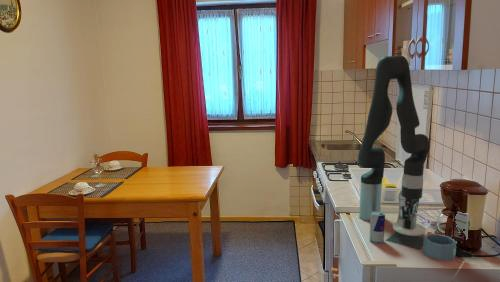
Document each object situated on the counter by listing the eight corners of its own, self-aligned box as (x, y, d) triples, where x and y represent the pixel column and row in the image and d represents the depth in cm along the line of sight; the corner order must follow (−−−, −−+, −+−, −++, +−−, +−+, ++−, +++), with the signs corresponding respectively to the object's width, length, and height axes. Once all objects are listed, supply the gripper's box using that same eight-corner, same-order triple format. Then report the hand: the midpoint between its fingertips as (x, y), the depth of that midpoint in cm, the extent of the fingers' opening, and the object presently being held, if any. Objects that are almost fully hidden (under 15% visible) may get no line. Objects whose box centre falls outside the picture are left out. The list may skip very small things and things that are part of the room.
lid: (398, 221, 161) (399, 207, 159) (429, 228, 153) (430, 214, 152) (388, 230, 151) (389, 216, 150) (420, 238, 144) (421, 223, 143)
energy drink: (384, 245, 147) (386, 216, 146) (370, 244, 149) (371, 215, 147) (382, 240, 153) (384, 211, 151) (368, 239, 154) (370, 210, 152)
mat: (397, 231, 161) (397, 230, 161) (430, 239, 153) (430, 238, 153) (385, 241, 152) (385, 240, 152) (419, 250, 143) (419, 249, 143)
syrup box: (465, 251, 143) (469, 213, 141) (451, 245, 148) (454, 209, 146) (475, 247, 145) (478, 211, 143) (460, 242, 151) (463, 206, 148)
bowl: (428, 246, 146) (429, 232, 146) (457, 254, 140) (458, 239, 139) (420, 255, 139) (421, 240, 138) (450, 264, 132) (451, 248, 132)
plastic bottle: (413, 233, 160) (416, 186, 157) (396, 231, 162) (399, 185, 159) (412, 227, 166) (415, 182, 163) (395, 225, 168) (398, 181, 165)
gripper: (408, 179, 157) (405, 219, 160) (396, 187, 146) (393, 229, 149) (427, 182, 152) (424, 223, 155) (416, 191, 141) (413, 234, 144)
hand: (409, 226), depth 152 cm, fingers closed on lid, 4 cm apart
